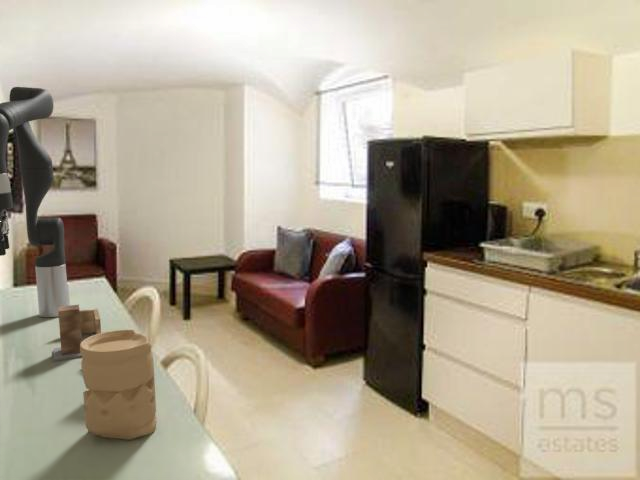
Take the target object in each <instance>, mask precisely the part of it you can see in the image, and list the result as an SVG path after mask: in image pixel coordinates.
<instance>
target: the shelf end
mask: <svg viewBox="0 0 640 480" xmlns="http://www.w3.org/2000/svg"><path fill="white" fill-rule="evenodd" d="M79 311H80V325H81V335H82V334H89V333H90V334H91V333H94V335H96V334H99V333H102V328H101V327H102V325H101V324H102V323H101V318H100V317H101V316H100V312H99V308H91V309H90V308H89V309H79Z"/></svg>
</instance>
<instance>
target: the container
mask: <svg viewBox="0 0 640 480" xmlns="http://www.w3.org/2000/svg"><path fill="white" fill-rule="evenodd" d="M80 353H81V356H82V357H81V358H82V359H81V362H80V363H81V365H80V366H81V374H82V378H83V379H82V380H83V382H84V385H85V388H86V389H87V390H85V391H84V392H83V393H82V394H83V408H84V421H85V422H84V423H85V428H86V429H87V433H88V434H91V435H96V436H101V437H102V438H109V439H110V438H111V439H121V440H128V441H129V440H130V441H131V440H134V439H136V438H140V437H143V436H149V435H150V434H153V433H155V431H156V428H157V415H156V413H157V403H156V402H157V401H156V381H155V363H154V355H153V352H152V345H151V343H150V340H149V337H147V336H146V335H144V333H137V332H136V331H135V330H134V329H130V328H129V329H126V328H125V329H116V330H109V331H104V332H101V333H99V334H93V335H91V336H88V337H86V338H84V339H83V340H82V342H81V343H80Z"/></svg>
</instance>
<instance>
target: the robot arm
mask: <svg viewBox="0 0 640 480" xmlns="http://www.w3.org/2000/svg"><path fill="white" fill-rule="evenodd" d="M53 112H54V99H53V97H52V94H51V92H49V91H48V89H47V90H46V89H45V88H40V87H27V86H13V87H12V88H11V89H10V91H9V101H6V102H5V101H4V102H1V103H0V257H1V256H5V255H7V252H6V250H9V249H10V241H9V236H8V235H9V231H10V228H9V226H10V225H9V218H8V217H9V216H8V215H7V214H8V213H7V211H6V210H11V209H13V208H14V205H13V204H14V203H13V197H12V196H13V195H12V187H11V181H10V179H9V176H8V175H9V174H8V169H7V162H6V155H7V152H6V151H7V146H8V145H7V144H8V141H9V139H8V138H9V135H10V134H9V133H10V131H11V130H13V129H14V131H15V135H16V139H17V148H18V149H17V150H18V157H19V158H18V159H19V170H20V176H21V183H22V189H23V194H24V203H25V204H24V205H25V219H26V220H25V221H26V234H27V238H28V242H29V244H30V245H31V246H35V247H36V246H53V248H52V249H51V250H50V251H47V252H46V253H44V254H40V255H39V256H36V257H35V258H34V265H35V267H34V268H35V277H36V278H35V279H36V292H37V304H38V315H39V317H40V318H57V317H59V314H58V308H59V307H62V306H71V303H70V302H71V301H70V291H69V284H68V278H67V264H66V263H67V262H66V254H65V251H66V250H65V226H64V222H63V220H62V218H61V217H38V212H39V208H40V206H41V204H42V202H43V201H44V199H45V197H46V195H47V193H48V192H49V190H50V188H52V185H53V183H54V179H55V178H54V177H55V176H54V169H53V168H54V166H53V161H52V157H51V156H50V154H49V153H48V151H47V150H46V149H45V147H44V146H43V145H42V143H41V142H40V141H39V140H38V138H37V137H36V136H35V134H34V132H33V129H32V127H31V124H30V122H33V121H36V120H41V119H42V120H43V119H48V118H49V117H51V115H52V114H53Z"/></svg>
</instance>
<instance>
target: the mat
mask: <svg viewBox="0 0 640 480" xmlns="http://www.w3.org/2000/svg"><path fill="white" fill-rule="evenodd" d="M77 358H79V359H80V358H83V357H82V356H81V353H75V354H68V355H62V353H61V346H60V347H54V348H53V362H57V361H64V360H72V359H77Z"/></svg>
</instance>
